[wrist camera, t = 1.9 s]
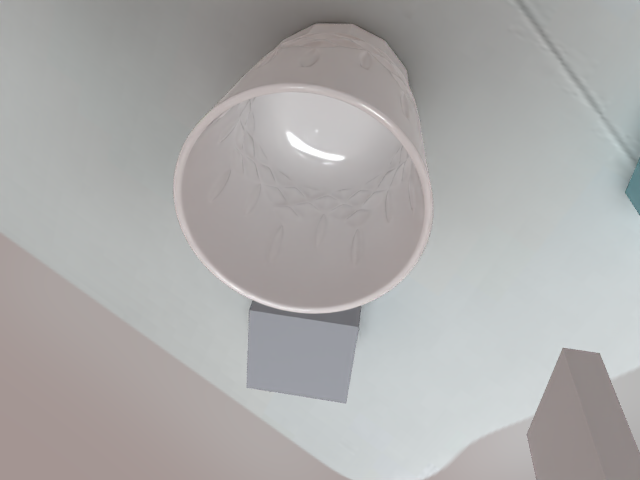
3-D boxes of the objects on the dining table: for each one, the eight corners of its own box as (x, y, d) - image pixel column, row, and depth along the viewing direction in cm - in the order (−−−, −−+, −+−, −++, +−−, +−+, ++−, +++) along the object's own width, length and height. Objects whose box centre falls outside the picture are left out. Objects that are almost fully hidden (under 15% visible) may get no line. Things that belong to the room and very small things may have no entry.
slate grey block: (270, 249, 31) (249, 310, 27) (365, 263, 31) (358, 327, 27) (266, 322, 34) (246, 387, 30) (353, 335, 34) (346, 403, 29)
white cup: (223, 135, 28) (143, 254, 20) (288, -30, 24) (222, 31, 15) (373, 206, 29) (358, 347, 21) (461, 60, 25) (487, 163, 16)
